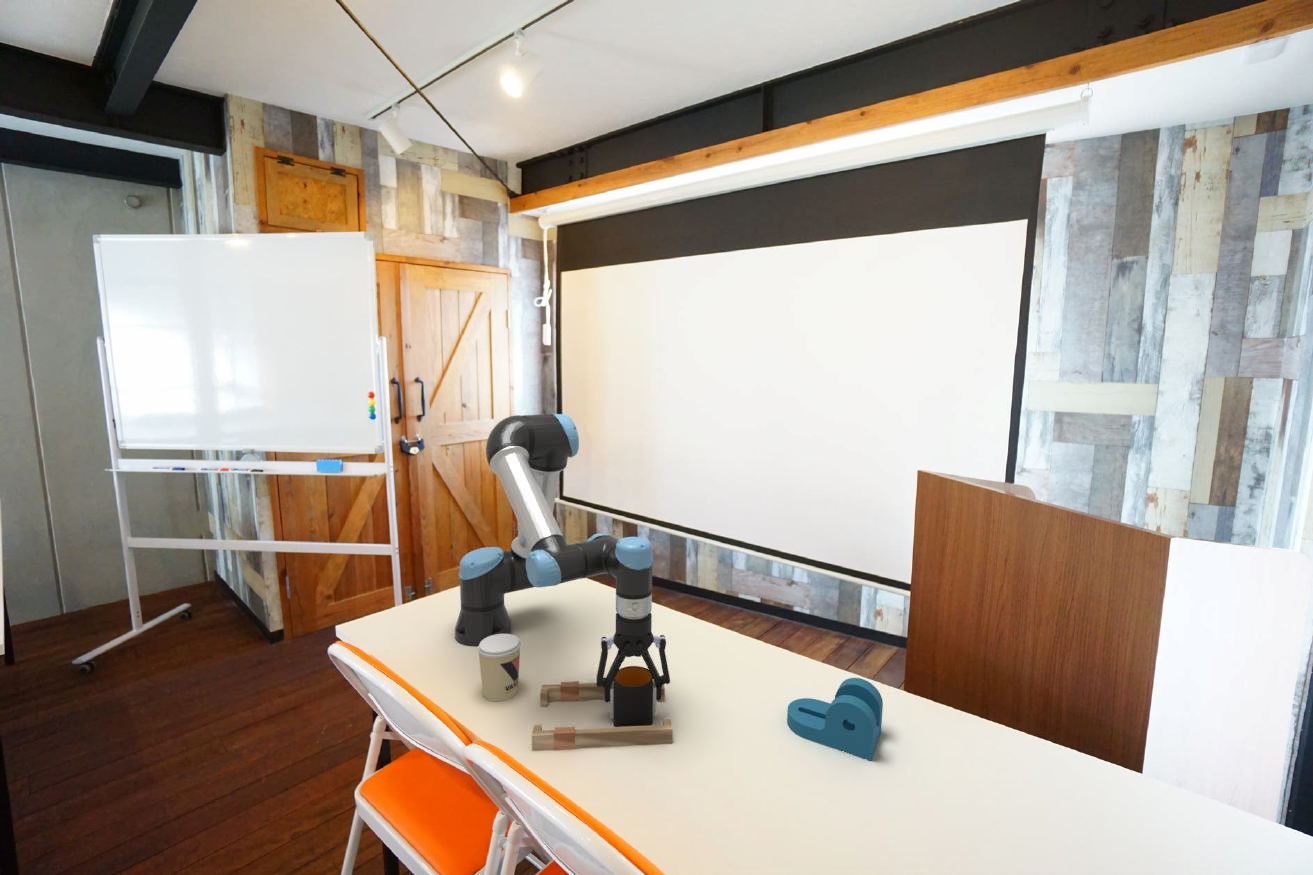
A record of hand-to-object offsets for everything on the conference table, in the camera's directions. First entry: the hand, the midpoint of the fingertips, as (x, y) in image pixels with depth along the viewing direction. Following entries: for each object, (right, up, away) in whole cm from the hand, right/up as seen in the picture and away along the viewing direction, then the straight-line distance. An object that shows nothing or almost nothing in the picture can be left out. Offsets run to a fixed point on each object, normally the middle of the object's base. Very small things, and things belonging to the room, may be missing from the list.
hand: (632, 713), depth 121 cm
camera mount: (+41, -2, -4) cm, 41 cm away
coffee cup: (-31, 0, +9) cm, 32 cm away
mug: (+1, -1, 0) cm, 1 cm away
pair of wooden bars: (-6, -1, 0) cm, 6 cm away
